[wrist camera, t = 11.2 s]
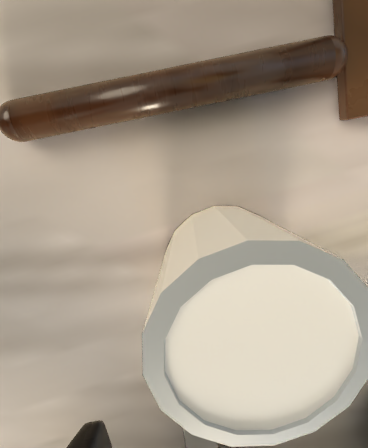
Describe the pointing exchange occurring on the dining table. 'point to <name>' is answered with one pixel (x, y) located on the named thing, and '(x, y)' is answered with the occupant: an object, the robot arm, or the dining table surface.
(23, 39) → the dining table surface
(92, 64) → the dining table surface
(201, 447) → the door handle
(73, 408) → the dining table surface
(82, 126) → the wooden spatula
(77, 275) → the dining table surface
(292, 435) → the white cup
